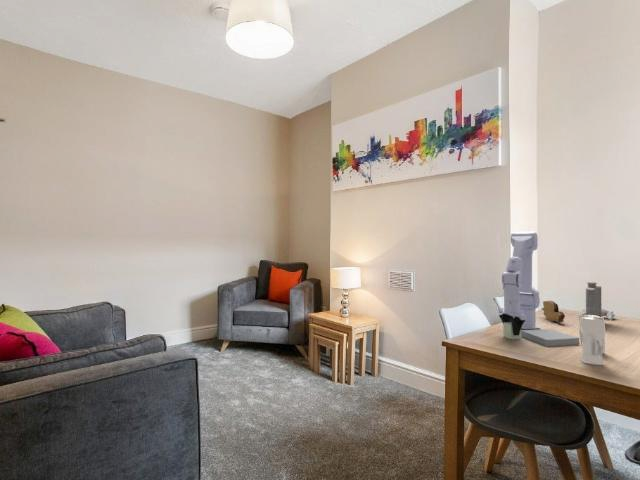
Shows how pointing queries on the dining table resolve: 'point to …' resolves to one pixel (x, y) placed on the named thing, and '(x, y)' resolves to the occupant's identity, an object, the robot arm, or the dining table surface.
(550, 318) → the wooden carving
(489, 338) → the dining table surface
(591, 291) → the hip flask
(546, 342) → the slate block
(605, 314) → the seahorse
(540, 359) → the dining table surface
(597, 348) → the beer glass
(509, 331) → the sage block
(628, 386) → the dining table surface
